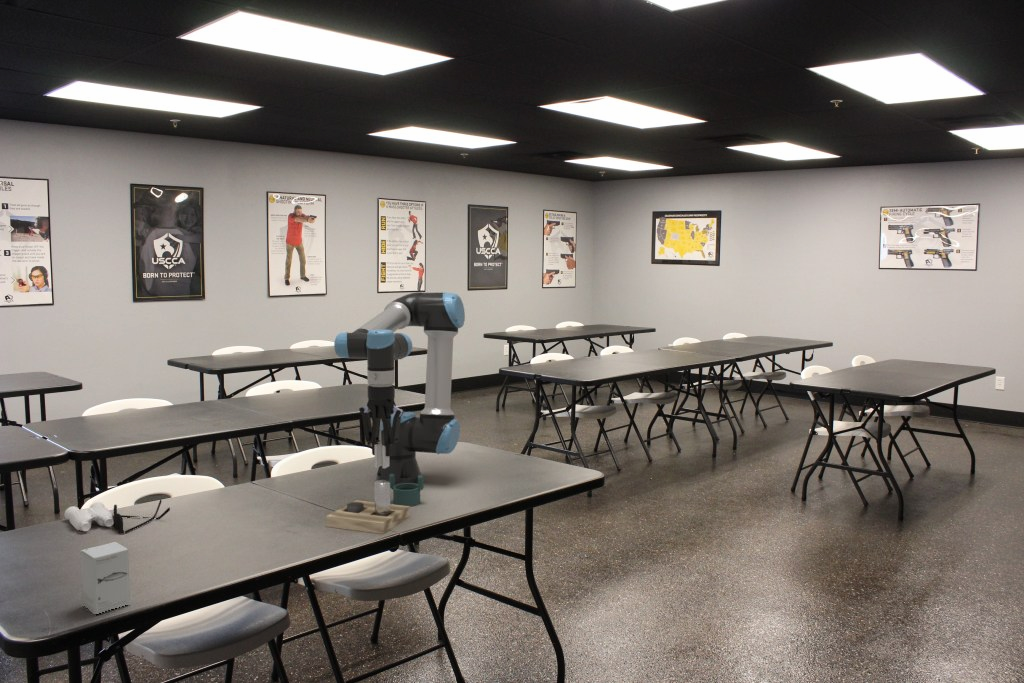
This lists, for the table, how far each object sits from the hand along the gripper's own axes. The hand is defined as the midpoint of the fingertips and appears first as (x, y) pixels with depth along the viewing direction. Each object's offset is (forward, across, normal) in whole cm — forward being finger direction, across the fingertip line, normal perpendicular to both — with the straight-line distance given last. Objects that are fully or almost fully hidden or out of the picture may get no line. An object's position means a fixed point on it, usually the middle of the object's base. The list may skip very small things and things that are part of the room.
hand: (382, 466), depth 218 cm
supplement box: (+17, -30, -68) cm, 76 cm away
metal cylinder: (+16, 0, 0) cm, 16 cm away
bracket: (+17, -2, +20) cm, 26 cm away
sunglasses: (+17, -65, -23) cm, 71 cm away
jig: (+16, -4, 0) cm, 17 cm away
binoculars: (+17, -77, -29) cm, 84 cm away
